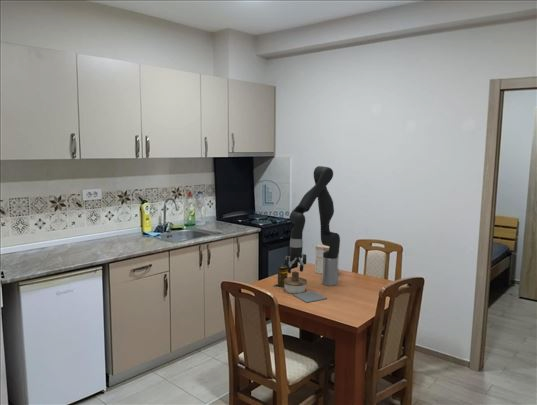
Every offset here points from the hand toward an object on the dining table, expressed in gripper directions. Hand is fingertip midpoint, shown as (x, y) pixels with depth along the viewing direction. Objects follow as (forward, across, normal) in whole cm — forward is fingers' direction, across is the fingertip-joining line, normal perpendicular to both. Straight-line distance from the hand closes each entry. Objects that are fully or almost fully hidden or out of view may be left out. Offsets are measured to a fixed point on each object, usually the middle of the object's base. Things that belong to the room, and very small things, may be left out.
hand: (295, 272), depth 253 cm
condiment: (+12, +2, -11) cm, 16 cm away
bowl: (+11, 0, 0) cm, 11 cm away
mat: (+11, -1, +14) cm, 18 cm away
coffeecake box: (+11, -39, -19) cm, 45 cm away
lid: (+6, 0, 0) cm, 6 cm away
